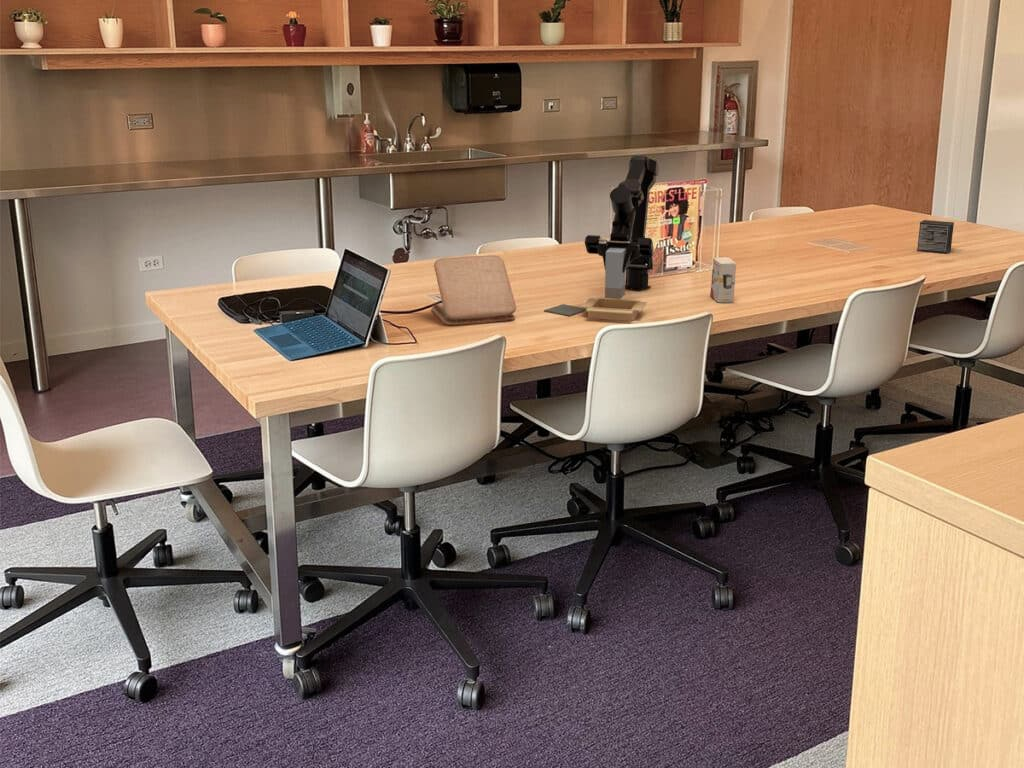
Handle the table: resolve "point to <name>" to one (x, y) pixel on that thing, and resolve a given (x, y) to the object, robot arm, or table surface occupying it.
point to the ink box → (723, 280)
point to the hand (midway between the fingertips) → (614, 271)
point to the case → (473, 290)
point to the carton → (613, 308)
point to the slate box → (614, 273)
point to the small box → (935, 236)
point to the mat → (566, 310)
